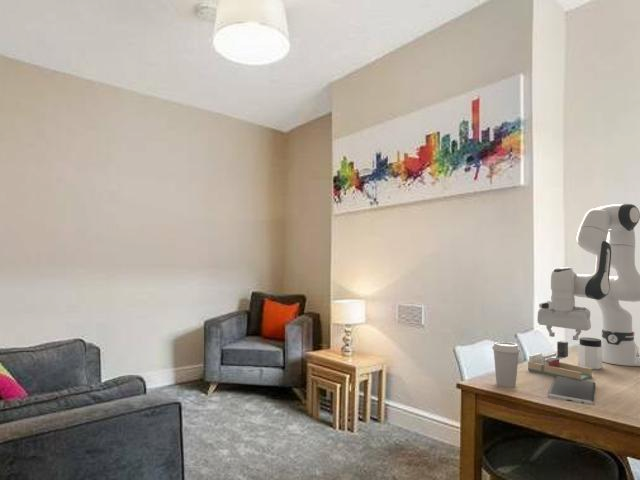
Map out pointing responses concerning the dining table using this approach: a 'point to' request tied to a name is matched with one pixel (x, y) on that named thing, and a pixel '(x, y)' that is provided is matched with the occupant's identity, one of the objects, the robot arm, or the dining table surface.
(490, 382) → the dining table surface
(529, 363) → the pitch
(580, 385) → the smartphone
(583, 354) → the jar
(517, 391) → the dining table surface
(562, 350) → the kicker rod
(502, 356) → the coffee cup
